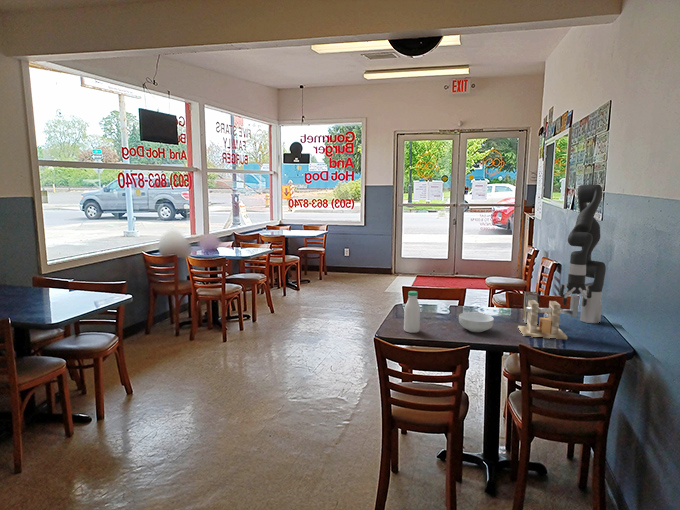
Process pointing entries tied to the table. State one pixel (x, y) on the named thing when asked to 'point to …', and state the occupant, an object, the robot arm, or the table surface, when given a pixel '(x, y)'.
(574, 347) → the table surface
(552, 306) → the stand
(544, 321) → the spacer
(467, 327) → the cereal bowl
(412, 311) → the milk bottle
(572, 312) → the shaft
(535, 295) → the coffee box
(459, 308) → the table surface
